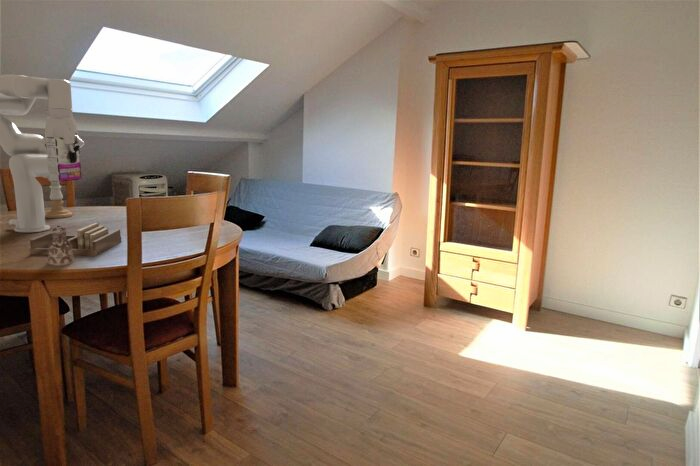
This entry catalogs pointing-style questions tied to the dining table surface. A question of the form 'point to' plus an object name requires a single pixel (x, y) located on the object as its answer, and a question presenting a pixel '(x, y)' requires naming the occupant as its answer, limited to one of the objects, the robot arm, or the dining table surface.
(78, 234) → the offcuts
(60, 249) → the figurine
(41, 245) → the rack
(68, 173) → the candy bar box
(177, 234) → the dining table surface
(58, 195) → the candle holder
